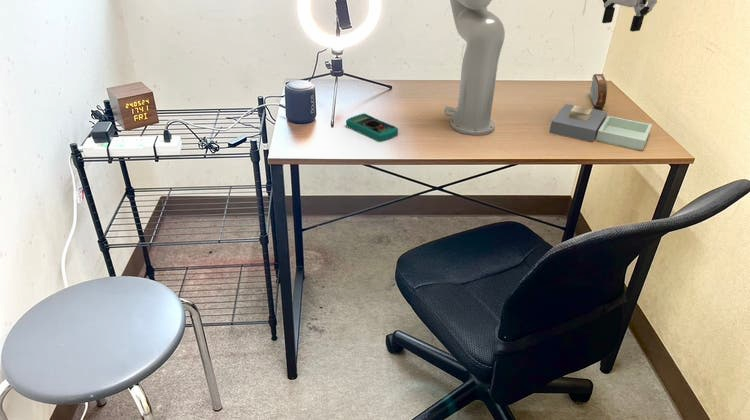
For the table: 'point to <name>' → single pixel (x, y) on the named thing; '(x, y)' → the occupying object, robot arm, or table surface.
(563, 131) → the plate
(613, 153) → the table surface
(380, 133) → the digital multimeter
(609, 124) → the box
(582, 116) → the block
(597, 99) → the tin
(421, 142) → the table surface
